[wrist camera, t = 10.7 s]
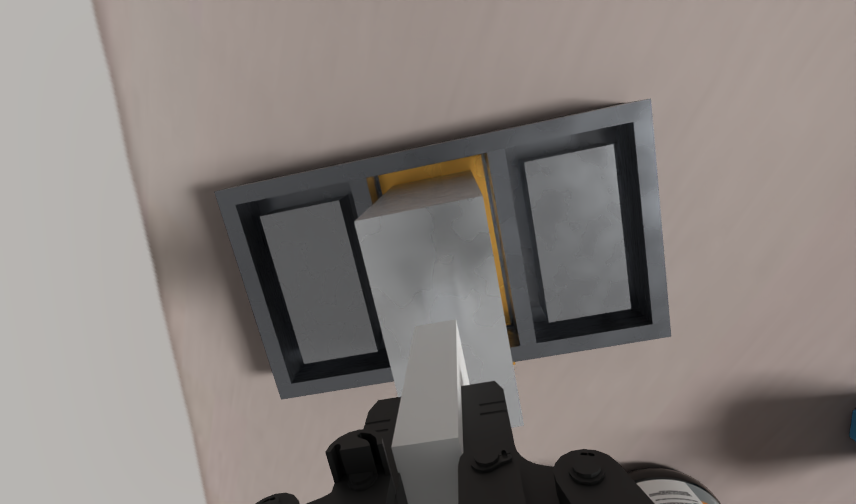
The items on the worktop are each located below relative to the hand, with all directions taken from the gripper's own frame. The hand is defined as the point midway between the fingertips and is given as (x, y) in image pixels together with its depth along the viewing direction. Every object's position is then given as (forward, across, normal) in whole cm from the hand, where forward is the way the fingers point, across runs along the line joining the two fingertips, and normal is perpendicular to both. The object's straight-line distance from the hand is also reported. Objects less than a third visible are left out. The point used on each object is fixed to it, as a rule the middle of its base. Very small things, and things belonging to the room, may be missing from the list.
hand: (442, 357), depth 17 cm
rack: (+15, 0, 0) cm, 15 cm away
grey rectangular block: (+14, 0, 0) cm, 14 cm away
